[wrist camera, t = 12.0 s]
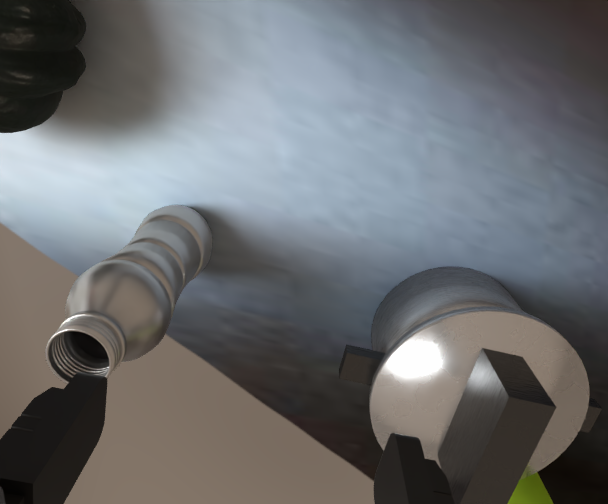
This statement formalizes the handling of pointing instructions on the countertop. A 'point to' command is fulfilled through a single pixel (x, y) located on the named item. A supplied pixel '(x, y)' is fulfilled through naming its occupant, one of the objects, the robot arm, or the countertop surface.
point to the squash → (37, 59)
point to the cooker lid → (482, 397)
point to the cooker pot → (424, 305)
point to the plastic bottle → (130, 295)
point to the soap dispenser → (530, 491)
